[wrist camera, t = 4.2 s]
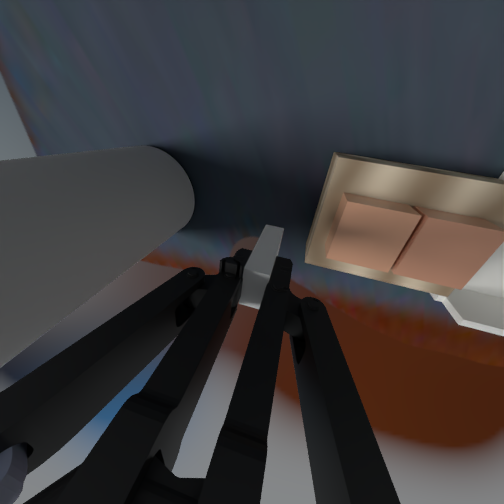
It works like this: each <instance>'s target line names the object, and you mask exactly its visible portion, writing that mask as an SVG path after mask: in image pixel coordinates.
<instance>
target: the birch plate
mask: <svg viewBox="0 0 504 504" xmlns="http://www.w3.org/2000/svg"><path fill="white" fill-rule="evenodd" d="M343 192H344V193H349V194H355V195H360V196H365V197H370V198H376V199H381V200H386V201H392V202H397V203H402V204H407V205H409V206H411V207H412V208H413V207H414V206H418V207H423V208H429V209H434V210H439V211H444V212H450V213H455V214H460V215H465V216H471V217H476V218H481V219H486V220H488V221H489V222H491V223H493V224H495V225H497V226H499V227H501V228H502V229H504V180H500V179H496V178H491V177H485V176H479V175H473V174H467V173H461V172H455V171H449V170H442V169H436V168H430V167H424V166H418V165H412V164H406V163H400V162H394V161H388V160H381V159H375V158H369V157H363V156H357V155H351V154H345V153H339V152H334V154H333V157H332V160H331V164H330V167H329V170H328V173H327V177H326V180H325V183H324V186H323V190H322V193H321V196H320V200H319V203H318V206H317V209H316V213H315V216H314V219H313V223H312V226H311V229H310V232H309V236H308V239H307V242H306V252H305V263H309V264H313V265H317V266H321V267H325V268H329V269H334V270H338V271H342V272H346V273H350V274H354V275H358V276H362V277H367V278H371V279H375V280H379V281H383V282H387V283H391V284H396V285H400V286H404V287H408V288H412V289H416V290H420V291H424V292H429V293H433V294H437V295H441V296H445V297H448V296H449V295H450V294H451V293H452V291H453V290H454V289H455V288H451V287H447V286H442V285H438V284H434V283H430V282H425V281H421V280H417V279H413V278H409V277H404V276H400V275H396V274H393V272H392V271H391V269H390V270H389V272H388V273H387V272H383V271H379V270H375V269H370V268H366V267H362V266H358V265H353V264H349V263H345V262H341V261H336V260H332V259H328V258H326V253H325V242H326V240H327V237H328V234H329V231H330V228H331V226H332V223H333V220H334V217H335V215H336V212H337V209H338V206H339V204H340V201H341V198H342V195H343Z"/></svg>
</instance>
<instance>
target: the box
mask: <svg viewBox="0 0 504 504" xmlns="http://www.w3.org/2000/svg"><path fill="white" fill-rule="evenodd" d="M498 179H500V180H504V172H503V173H502V174H501V176H500V177H499V178H498ZM430 294H431V296H432V297H433V298H434V300H436V301H440V302H442V303H443V304H444V306H445V307H446V308H447V310H448V311H449V312H450V314H451V315H452V317H453V318H454V319H455V321H456V322H457V323H458V324H459V325H462V326H466V327H470V328H474V329H478V330H482V331H486V332H490V333H494V334H497V335H501V336H504V242H503V243H502V244H501V245H500V246H499V248H498V249H497V250H496V251H495V252H494V253H493V254H492V256H491V257H490V258H489V259H488V260H487V261H486V262H485V263H484V265H483V266H482V267H481V268H480V269H479V270H478V271H477V273H476V274H475V275H474V276H473V277H472V278H471V279H470V280H469V282H468V283H467V284H466V285H465V286H464V287H463V288H462V289H461V290H459V289H454V290H453V291H452V293H451V294H450V295H449V296H448V297H445V296H441V295H437V294H433V293H430Z"/></svg>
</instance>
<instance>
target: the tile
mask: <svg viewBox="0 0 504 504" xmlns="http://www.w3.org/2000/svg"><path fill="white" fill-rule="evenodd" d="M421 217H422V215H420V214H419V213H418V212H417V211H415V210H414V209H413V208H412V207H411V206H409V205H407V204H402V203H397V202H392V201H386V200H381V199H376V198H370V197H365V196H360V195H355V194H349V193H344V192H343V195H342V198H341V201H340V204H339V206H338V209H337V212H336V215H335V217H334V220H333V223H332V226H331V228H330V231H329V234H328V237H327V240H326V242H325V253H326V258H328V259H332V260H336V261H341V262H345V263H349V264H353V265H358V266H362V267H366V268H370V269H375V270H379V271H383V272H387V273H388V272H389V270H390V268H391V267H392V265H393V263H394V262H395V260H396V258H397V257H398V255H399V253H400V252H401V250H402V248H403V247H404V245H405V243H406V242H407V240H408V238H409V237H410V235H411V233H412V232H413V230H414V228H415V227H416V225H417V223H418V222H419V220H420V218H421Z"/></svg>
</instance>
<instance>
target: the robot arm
mask: <svg viewBox="0 0 504 504" xmlns="http://www.w3.org/2000/svg"><path fill="white" fill-rule="evenodd" d="M283 231H284V228H280V227H276V226H271V225H267V224H266V225H265V227H264V229H263V231H262V233H261V235H260V237H259V239H258V241H257V243H256V245H255V248H254V249H253V251H251V250H247V249H243V248H242V249H240V250H238V251H237V252H236V254H235V256H234V257H226V258H223V259H222V260H220V269H219V274H217V275H205V272H204V271H203V270H202V269H201V268H197V267H190V268H187V269H184V270H183V271H181V272H180V273H178V274H177V275H175V276H174V277H172V278H171V279H169V280H168V281H166V282H165V283H163V284H162V285H160V286H159V287H158V288H156V289H155V290H153V291H151V292H150V293H148V294H147V295H145V296H144V297H142V298H141V299H140V300H138V301H137V302H135V303H134V304H132V305H131V306H129V307H128V308H126V309H125V310H123V311H122V312H120V313H119V314H117V315H116V316H114V317H113V318H111V319H110V320H108V321H107V322H105V323H104V324H102V325H101V326H99V327H98V328H96V329H95V330H93V331H92V332H90V333H89V334H88V335H86V336H84V337H83V338H81V339H80V340H78V341H77V342H75V343H74V344H72V345H71V346H70V347H68V348H66V349H65V350H63V351H62V352H61V353H59V354H58V355H56V356H54V357H53V358H51V359H50V360H49V361H47V362H46V363H44V364H43V365H41V366H40V367H38V368H37V369H35V370H34V371H32V372H31V373H29V374H28V375H26V376H25V377H23V378H22V379H20V380H19V381H17V382H16V383H14V384H13V385H11V386H10V387H8V388H7V389H5V390H4V391H2V392H0V504H13V503H14V502H15V501H16V500H17V498H18V497H19V495H20V493H21V492H22V489H23V483H24V480H25V477H26V475H27V474H29V473H30V472H32V471H33V470H34V469H36V468H37V467H39V466H40V465H41V464H43V463H44V462H45V461H46V460H47V459H49V458H50V457H51V456H52V455H54V454H55V453H56V452H57V451H59V450H60V449H61V448H62V447H63V446H64V445H65V444H66V443H67V442H68V441H70V440H71V439H72V438H73V437H74V436H75V435H76V434H77V433H78V432H79V431H80V430H81V429H82V428H83V427H84V426H85V425H86V424H87V423H88V422H90V421H91V420H92V418H94V417H95V416H96V415H97V414H98V413H99V412H100V411H101V410H102V409H103V408H104V407H105V406H106V405H107V404H108V403H109V402H110V401H111V400H112V399H113V398H114V397H115V396H116V395H117V394H118V393H119V392H120V391H121V390H122V389H123V388H124V387H125V386H126V385H127V384H128V383H129V382H130V381H131V380H132V379H133V378H134V377H135V376H136V375H137V374H139V372H141V371H142V370H143V369H144V368H145V367H146V366H147V365H148V364H149V363H150V362H151V361H152V360H153V359H154V358H155V357H156V356H157V355H158V354H159V353H160V352H161V351H162V350H163V349H164V348H165V347H166V346H167V345H168V344H169V343H170V342H171V341H172V340H173V339H174V338H175V337H176V336H177V335H178V336H177V337H176V339H175V341H174V342H173V344H172V345H171V347H170V348H169V350H168V351H167V353H166V354H165V356H164V357H163V359H162V360H161V362H160V363H159V365H158V366H157V368H156V369H155V371H154V372H153V374H152V375H151V377H150V378H149V380H148V382H147V383H146V385H145V386H144V387H143V389H142V390H141V391H140V392H139V393H137V394H135V395H132V396H131V397H130V398H129V399H127V401H126V402H125V403H124V404H123V406H122V407H121V408H120V410H119V411H118V413H117V414H116V415H115V417H114V418H113V420H112V421H111V423H110V424H109V426H108V427H107V429H106V430H105V432H104V433H103V434H102V436H101V437H100V439H99V440H98V441H97V443H96V444H95V446H94V447H93V449H92V450H91V452H90V453H89V454H88V456H87V458H86V459H85V460H84V462H83V463H82V464H81V465H79V466H77V467H76V468H74V469H73V470H71V471H70V472H69V473H67V474H66V475H64V476H63V477H61V478H60V479H58V480H57V481H55V482H54V483H53V484H51V485H50V486H48V487H47V488H45V489H44V490H42V491H41V492H40V493H38V494H37V495H35V496H34V497H32V498H31V499H29V500H28V501H26V502H25V503H23V504H260V499H261V492H262V485H263V479H264V472H265V464H266V457H267V436H268V429H269V423H270V415H271V409H272V403H273V396H274V389H275V382H276V376H277V370H278V363H279V357H280V350H281V344H282V337H283V331H285V332H287V333H288V334H290V343H291V349H292V355H293V362H294V368H295V374H296V380H297V387H298V393H299V399H300V405H301V411H302V417H303V423H304V429H305V436H306V442H307V448H308V455H309V460H310V467H311V473H312V479H313V485H314V492H315V497H316V504H400V501H399V498H398V496H397V493H396V491H395V488H394V485H393V483H392V480H391V477H390V475H389V472H388V470H387V467H386V464H385V462H384V459H383V457H382V454H381V452H380V449H379V446H378V444H377V441H376V438H375V436H374V433H373V430H372V428H371V425H370V423H369V420H368V417H367V415H366V412H365V410H364V407H363V404H362V402H361V399H360V396H359V394H358V391H357V389H356V386H355V383H354V381H353V378H352V375H351V373H350V370H349V368H348V365H347V362H346V360H345V357H344V355H343V352H342V349H341V347H340V344H339V341H338V339H337V336H336V334H335V331H334V329H333V326H332V323H331V320H330V318H329V315H328V313H327V310H326V307H325V306H324V304H323V303H322V302H321V301H320V300H318V299H316V298H312V297H305V298H303V299H300V298H298V297H296V296H295V295H293V294H292V293H291V291H290V289H289V284H290V278H291V271H292V265H293V264H292V262H291V260H290V259H287V258H282V257H278V253H279V248H280V244H281V239H282V235H283ZM239 299H240V301H239ZM238 302H239V304H243V305H246V306H249V307H253V308H256V309H259V311H258V314H257V318H256V321H255V324H254V327H253V331H252V334H251V337H250V341H249V344H248V347H247V350H246V354H245V357H244V360H243V363H242V366H241V370H240V373H239V376H238V380H237V383H236V386H235V389H234V392H233V396H232V399H231V402H230V405H229V409H228V412H227V415H226V418H225V421H224V424H223V426H222V428H221V431H220V434H219V437H218V440H217V443H216V446H215V449H214V453H213V456H212V459H211V462H210V465H209V468H208V472H207V475H206V478H178V477H176V476H175V475H174V474H173V473H172V472H171V471H172V469H173V467H174V464H175V461H176V459H177V456H178V453H179V449H180V445H181V441H182V438H183V436H184V433H185V431H186V428H187V426H188V424H189V421H190V419H191V417H192V414H193V412H194V410H195V407H196V405H197V403H198V400H199V398H200V395H201V393H202V391H203V388H204V385H205V384H206V381H207V379H208V376H209V374H210V372H211V369H212V367H213V364H214V362H215V360H216V358H217V355H218V353H219V350H220V348H221V346H222V343H223V341H224V339H225V336H226V334H227V332H228V329H229V327H230V324H231V322H232V320H233V317H234V315H235V313H236V310H237V304H238Z"/></svg>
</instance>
